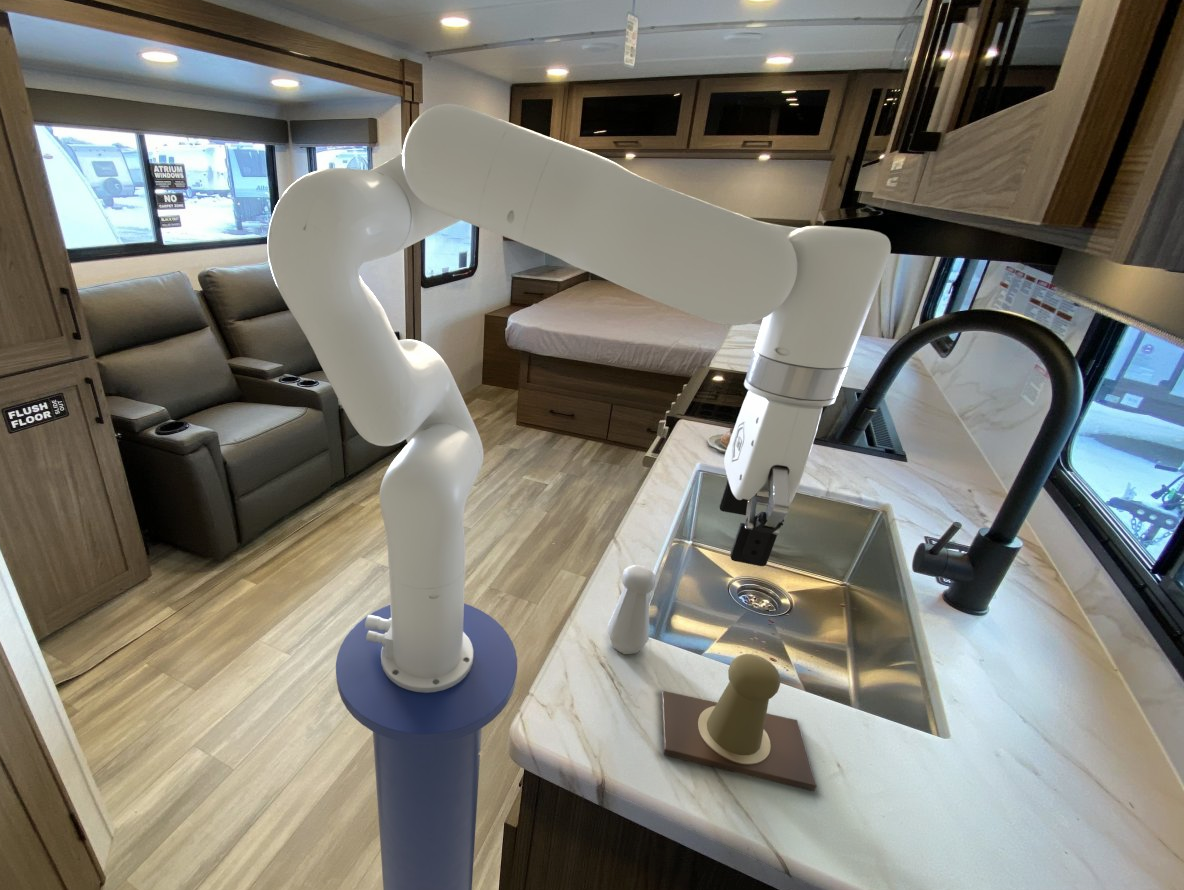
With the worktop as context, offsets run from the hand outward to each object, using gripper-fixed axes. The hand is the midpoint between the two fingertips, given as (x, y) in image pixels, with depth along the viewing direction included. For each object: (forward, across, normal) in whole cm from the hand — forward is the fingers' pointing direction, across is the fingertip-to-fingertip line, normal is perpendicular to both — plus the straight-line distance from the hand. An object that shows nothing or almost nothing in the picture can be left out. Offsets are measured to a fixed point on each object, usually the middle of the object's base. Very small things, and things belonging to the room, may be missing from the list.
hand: (740, 535), depth 59 cm
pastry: (+27, -90, +17) cm, 96 cm away
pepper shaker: (+26, +2, +6) cm, 27 cm away
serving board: (+27, +2, +6) cm, 27 cm away
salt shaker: (+27, -10, -7) cm, 30 cm away
